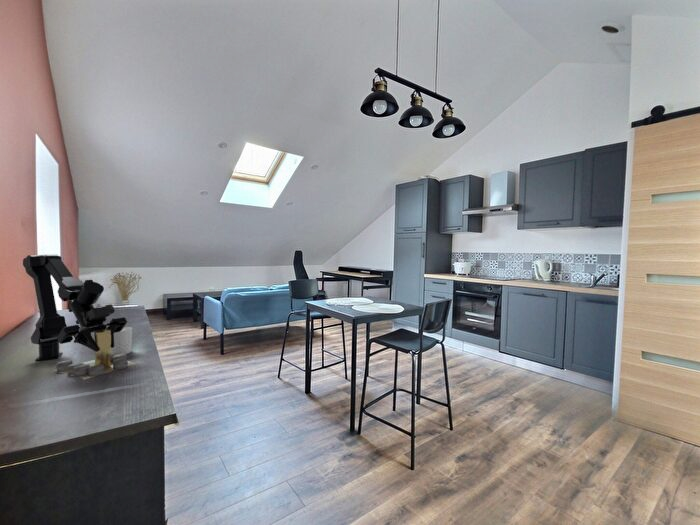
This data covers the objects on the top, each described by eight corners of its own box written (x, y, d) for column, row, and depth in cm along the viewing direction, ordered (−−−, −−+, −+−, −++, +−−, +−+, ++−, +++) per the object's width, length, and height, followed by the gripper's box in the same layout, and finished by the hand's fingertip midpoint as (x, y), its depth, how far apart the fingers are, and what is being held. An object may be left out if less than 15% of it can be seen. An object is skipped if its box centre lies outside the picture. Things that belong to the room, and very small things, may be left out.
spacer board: (53, 372, 107) (53, 363, 107) (106, 358, 122) (106, 349, 122) (86, 382, 100) (86, 371, 100) (139, 365, 114) (138, 356, 114)
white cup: (119, 358, 122) (119, 332, 122) (102, 357, 124) (101, 331, 123) (137, 352, 130) (137, 327, 130) (120, 351, 131) (120, 326, 131)
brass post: (96, 366, 110) (95, 330, 110) (112, 363, 112) (111, 329, 112) (93, 370, 106) (93, 333, 106) (110, 367, 109) (109, 332, 108)
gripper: (61, 301, 102) (82, 340, 98) (123, 294, 119) (144, 327, 115) (48, 324, 105) (68, 363, 101) (111, 314, 122) (130, 347, 118)
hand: (105, 348), depth 109 cm, fingers closed on brass post, 4 cm apart
